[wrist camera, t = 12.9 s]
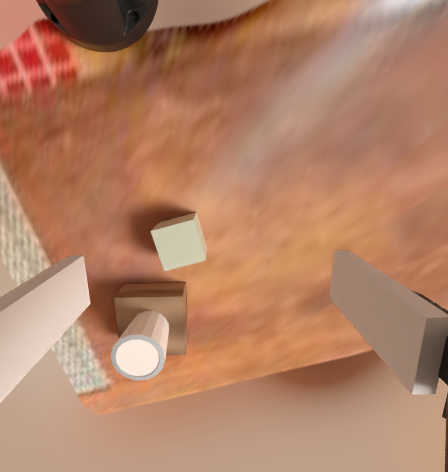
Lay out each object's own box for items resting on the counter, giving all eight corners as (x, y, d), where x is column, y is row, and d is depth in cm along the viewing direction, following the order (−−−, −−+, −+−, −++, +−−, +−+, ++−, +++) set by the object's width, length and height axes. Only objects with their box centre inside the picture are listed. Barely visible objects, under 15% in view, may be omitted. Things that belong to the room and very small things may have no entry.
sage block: (159, 222, 43) (150, 231, 37) (196, 212, 43) (193, 219, 37) (171, 257, 44) (164, 271, 39) (206, 247, 44) (205, 260, 38)
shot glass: (118, 322, 41) (98, 353, 35) (154, 298, 41) (141, 325, 34) (147, 354, 43) (134, 389, 36) (182, 331, 42) (175, 363, 35)
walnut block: (124, 283, 45) (113, 297, 40) (185, 282, 45) (182, 296, 41) (130, 337, 48) (120, 356, 43) (188, 335, 48) (185, 354, 43)
